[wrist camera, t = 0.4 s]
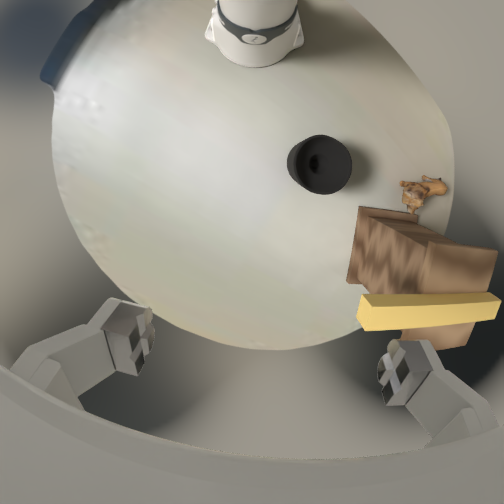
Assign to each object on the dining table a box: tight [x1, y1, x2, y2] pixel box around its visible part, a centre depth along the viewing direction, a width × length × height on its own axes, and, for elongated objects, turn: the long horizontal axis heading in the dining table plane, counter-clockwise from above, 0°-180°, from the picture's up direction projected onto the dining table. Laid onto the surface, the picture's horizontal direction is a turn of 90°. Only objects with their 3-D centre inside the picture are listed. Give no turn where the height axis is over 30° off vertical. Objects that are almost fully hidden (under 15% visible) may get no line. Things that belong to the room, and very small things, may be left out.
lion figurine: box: [400, 175, 448, 214], centre depth 48 cm, size 15×5×9 cm, turn 113°
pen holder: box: [287, 135, 352, 195], centre depth 46 cm, size 9×9×10 cm
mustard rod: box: [356, 292, 501, 331], centre depth 29 cm, size 3×24×3 cm, turn 86°
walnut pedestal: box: [346, 206, 498, 351], centre depth 43 cm, size 16×14×26 cm
